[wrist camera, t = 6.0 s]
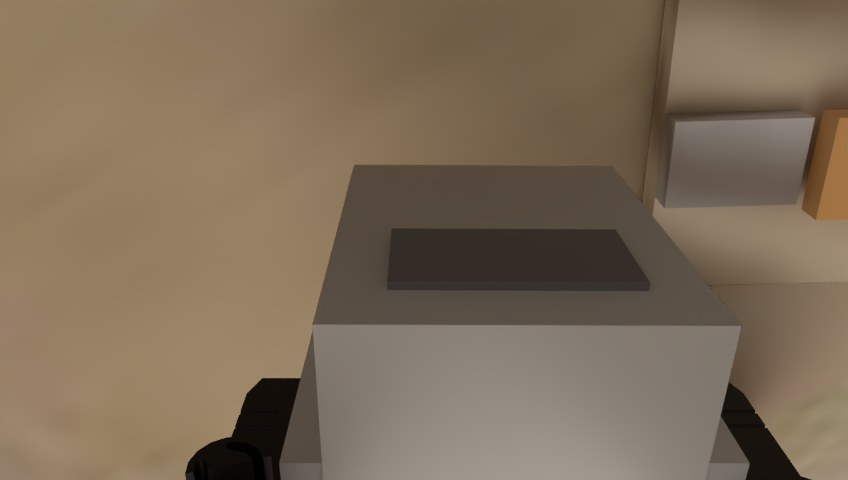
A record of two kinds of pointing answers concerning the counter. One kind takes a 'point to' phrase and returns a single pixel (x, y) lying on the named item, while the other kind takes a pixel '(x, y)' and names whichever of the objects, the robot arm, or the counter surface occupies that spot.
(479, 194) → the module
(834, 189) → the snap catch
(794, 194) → the rail board
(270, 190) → the counter surface
